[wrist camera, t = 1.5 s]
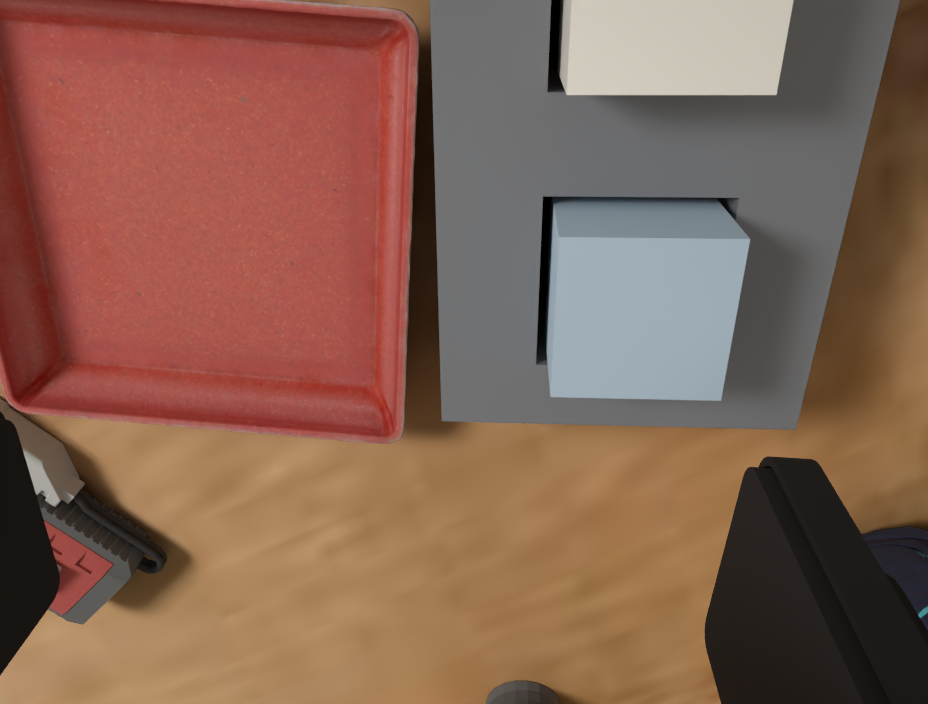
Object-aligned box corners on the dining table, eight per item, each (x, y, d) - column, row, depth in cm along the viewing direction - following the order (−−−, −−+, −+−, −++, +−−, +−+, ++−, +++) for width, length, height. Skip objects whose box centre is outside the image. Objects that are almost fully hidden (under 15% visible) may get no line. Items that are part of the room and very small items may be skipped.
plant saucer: (429, 4, 28) (420, 9, 25) (412, 409, 36) (403, 449, 33) (-47, -35, 28) (-112, -33, 25) (47, 376, 37) (7, 413, 34)
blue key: (551, 191, 27) (558, 237, 23) (711, 192, 27) (750, 239, 23) (544, 332, 30) (550, 397, 26) (689, 334, 30) (720, 400, 25)
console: (438, -234, 24) (421, -276, 20) (883, -245, 23) (970, -291, 19) (450, 361, 34) (441, 421, 30) (758, 367, 34) (795, 429, 29)
